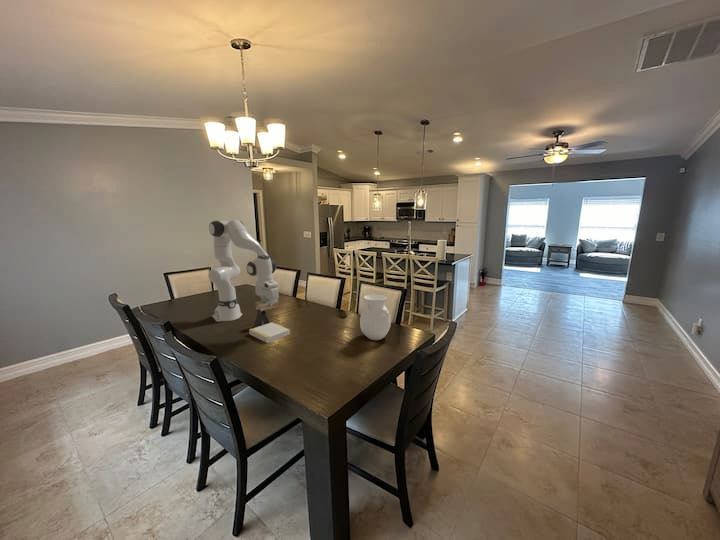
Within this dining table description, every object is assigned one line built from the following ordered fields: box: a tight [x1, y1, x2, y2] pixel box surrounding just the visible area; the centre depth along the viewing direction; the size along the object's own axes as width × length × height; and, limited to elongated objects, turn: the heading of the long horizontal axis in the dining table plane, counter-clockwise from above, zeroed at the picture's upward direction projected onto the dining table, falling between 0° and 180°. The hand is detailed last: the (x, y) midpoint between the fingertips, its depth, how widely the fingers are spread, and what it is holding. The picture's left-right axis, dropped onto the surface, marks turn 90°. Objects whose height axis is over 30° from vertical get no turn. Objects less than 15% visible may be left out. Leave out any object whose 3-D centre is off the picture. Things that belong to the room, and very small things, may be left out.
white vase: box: [359, 293, 392, 341], centre depth 169 cm, size 19×18×25 cm
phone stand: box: [253, 309, 271, 328], centre depth 189 cm, size 9×6×12 cm, turn 136°
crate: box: [261, 295, 270, 303], centre depth 173 cm, size 4×4×4 cm
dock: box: [248, 322, 291, 344], centre depth 177 cm, size 20×16×3 cm
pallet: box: [255, 299, 280, 311], centre depth 174 cm, size 6×12×4 cm, turn 140°
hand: (267, 304), depth 174 cm, fingers closed on pallet, 6 cm apart
